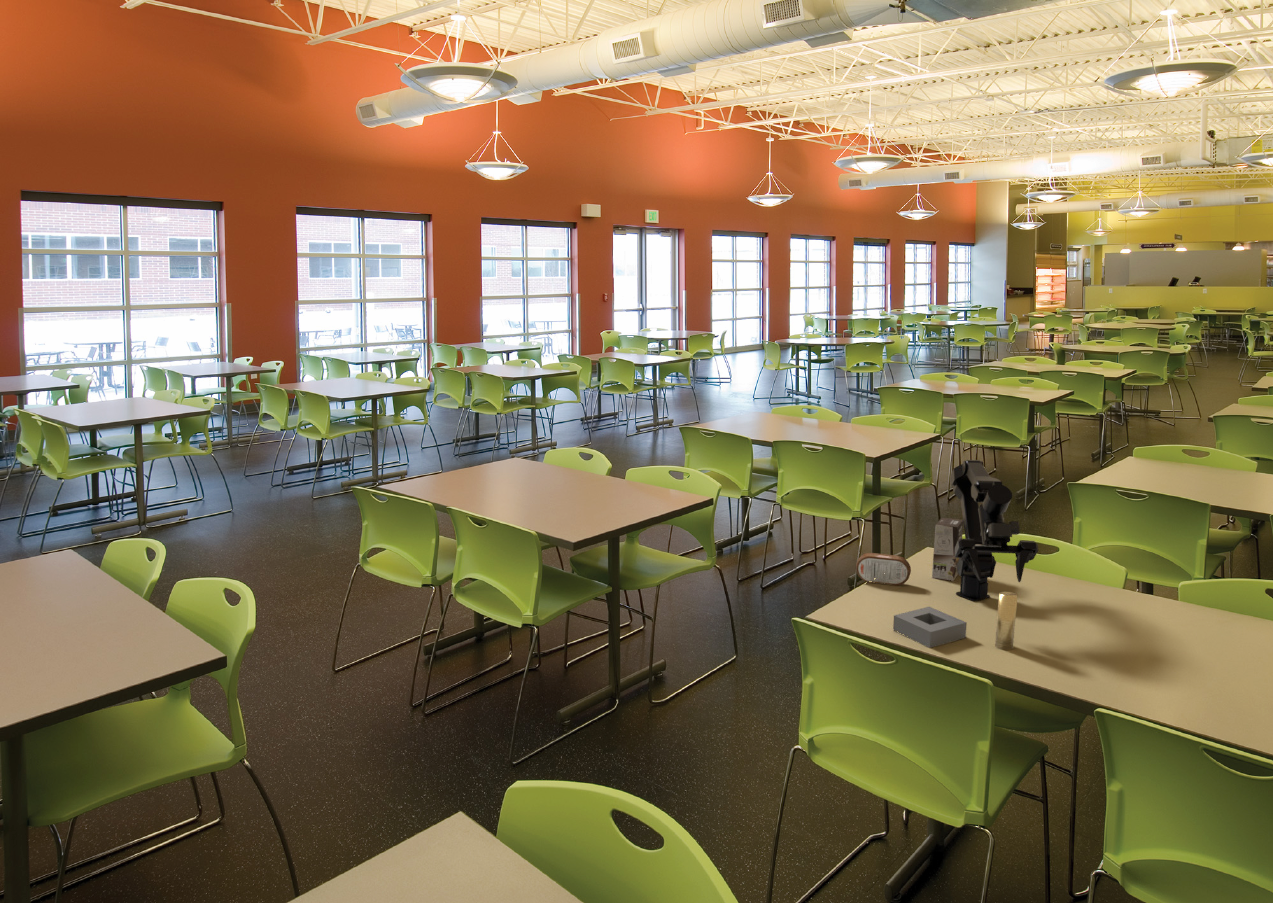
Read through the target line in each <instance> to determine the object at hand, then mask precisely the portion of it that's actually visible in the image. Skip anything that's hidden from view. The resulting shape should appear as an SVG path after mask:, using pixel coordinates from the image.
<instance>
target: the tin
mask: <svg viewBox="0 0 1273 903" xmlns="http://www.w3.org/2000/svg"><path fill="white" fill-rule="evenodd" d="M855 566H856V567H855V569H856V574H857V576H858V577H859V578H860V579H861V580H862V581H864V582H866V583H869V581H872V582H871V583H872V584H878V583H883V584H882V585H887V584H892V585H891V586H901V585H903V584H904V585H905V583H906V582H907V581H908V580H909V578H910V575H911V574H912V573H911V572H912V568H911V565H910V563H909V561H908V560H907V559H906V558H905V557H902V556H900V555H893V554H884V553H876V552H875V553H874V552H867V553H864V554H862V555H860V557H858V559H857V561H856V565H855ZM884 573H885V574H884ZM874 578H876V579H875V580H874ZM873 582H875V583H873ZM871 583H870V584H871ZM884 583H885V584H884Z"/></svg>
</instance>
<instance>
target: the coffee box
mask: <svg viewBox="0 0 1273 903" xmlns="http://www.w3.org/2000/svg"><path fill="white" fill-rule="evenodd" d="M963 530H964V523H963V519H958V518H952V517H951V518H947V517H941V518H940V519H939V520H938V522H936V523H935V527H934V540H933V541H934V543H933V557H932V568H931V569H932V572H931V578H935V579H940V580H946V581H950V580H951V582H954V581H955V579H956V578H957V577H958V575H959V574H958V572H957V562H958V560H959V558H956V557H955V546H956V544H957V541H958V540H959V539H960V538H962V539H963V533H964V531H963Z"/></svg>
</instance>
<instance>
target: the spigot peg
mask: <svg viewBox="0 0 1273 903" xmlns="http://www.w3.org/2000/svg"><path fill="white" fill-rule="evenodd" d="M1017 603H1018V594H1017V593H1014V592H1012V591H1000V592H999V593H998V603H997V604H998V605H997V614H996V616H997V617H996V626H995V628H996V629H995V641H994V642H995V643H994V647H995V648H997V649H999V650H1003V651H1010V650H1013V649H1014V642H1015V629H1016V618H1017V617H1016V616H1017V608H1018V607H1017V606H1018V604H1017Z"/></svg>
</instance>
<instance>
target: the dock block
mask: <svg viewBox="0 0 1273 903" xmlns="http://www.w3.org/2000/svg"><path fill="white" fill-rule="evenodd" d="M967 626H968V625H967V621H964V620H962V619H960V618H957V617H955V616H952V615H950V614H948V613H945V612H942V611H941V610H939V609H936V608H933V607H932V606H926V607H922V608H918V609H914V610H910V611H906V612H901V613H897V614H895V615H893V625H892V627H893V628H892V630H893V629H894V630H895V631H898V632H899V633H901V634H900V635H902V634H904V635H905V636H904V635H903V636H904V637H906V636H908V637H909V638H908V637H907V638H908V639H910V638H911V639H910V640H912V639H913V640H912V641H914V640H915V641H914V642H916V641H917V643H918V642H919V643H918V644H921V645H923V646H925V647H926V648H929V649H930V648H934V647H938V646H942V645H944V644H949V643H951V642H955V641H956V642H957V641H959V640H963V639H966V638H967V637H966V636H967ZM895 631H894V632H895ZM899 633H898V634H899Z"/></svg>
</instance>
